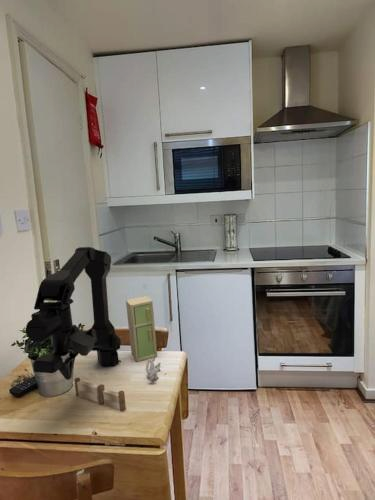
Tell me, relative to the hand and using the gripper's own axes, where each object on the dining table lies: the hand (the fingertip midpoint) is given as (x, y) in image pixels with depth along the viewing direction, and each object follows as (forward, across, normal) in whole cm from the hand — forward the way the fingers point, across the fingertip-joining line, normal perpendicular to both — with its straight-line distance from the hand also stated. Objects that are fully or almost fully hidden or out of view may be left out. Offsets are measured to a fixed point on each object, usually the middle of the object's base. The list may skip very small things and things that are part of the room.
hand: (68, 379), depth 95 cm
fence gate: (+9, +5, -2) cm, 10 cm away
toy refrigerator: (+10, +32, -9) cm, 35 cm away
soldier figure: (+10, +21, -17) cm, 28 cm away
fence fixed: (+10, +3, -11) cm, 15 cm away
